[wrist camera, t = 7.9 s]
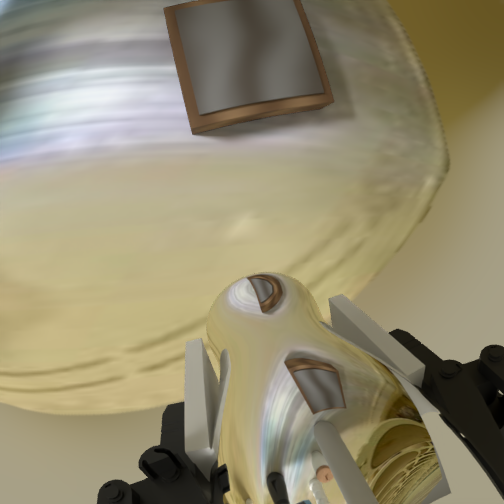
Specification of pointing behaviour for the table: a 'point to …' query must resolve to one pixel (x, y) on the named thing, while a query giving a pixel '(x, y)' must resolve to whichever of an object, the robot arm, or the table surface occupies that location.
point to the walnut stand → (245, 61)
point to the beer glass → (325, 413)
